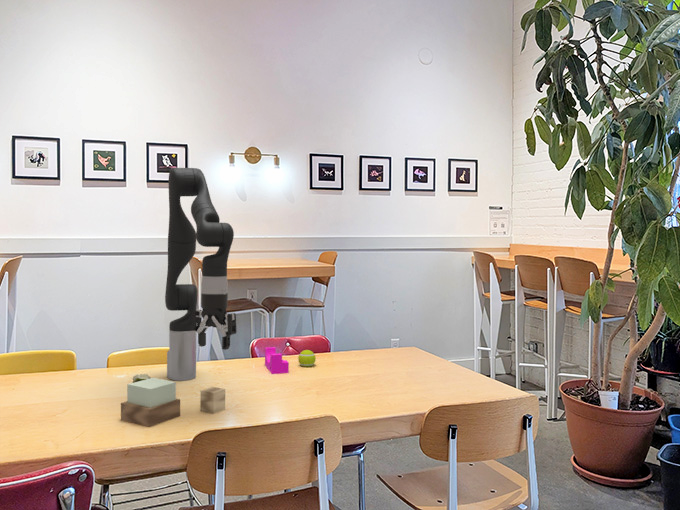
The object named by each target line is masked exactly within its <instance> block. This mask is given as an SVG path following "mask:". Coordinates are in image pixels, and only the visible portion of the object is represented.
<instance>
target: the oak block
mask: <svg viewBox="0 0 680 510" xmlns="http://www.w3.org/2000/svg"><path fill="white" fill-rule="evenodd" d="M199 393H200V394H199V395H200V397H199V399H200V401H199V403H200V405H199V406H200V408H199V410H200V412H203V413H209V414H212V415H215V414H217V413H219V412H221V411H224V410H226V388H220V387H218V386H217V387H216V386H210V387H207V388H204V389H201V390H200V392H199Z"/></svg>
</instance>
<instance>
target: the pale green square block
mask: <svg viewBox="0 0 680 510" xmlns="http://www.w3.org/2000/svg"><path fill="white" fill-rule="evenodd" d="M126 391H127V395H126V397H127V398H126V399H127V400H126V401H127V403H132V404H136V405H140V406H145V407H149V408H151V407H155V406H158V405H161V404H164V403H167V402H171V401H174V400H176V399H177V396H176V395H177V382H176V381H174V380H166V379H162V378H157V377H151V378H150V379H146V380H142V381H138V382H135V383H133V382H132V383H131V382H130V383H128V384H127V390H126Z"/></svg>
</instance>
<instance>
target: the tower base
mask: <svg viewBox="0 0 680 510" xmlns="http://www.w3.org/2000/svg"><path fill="white" fill-rule="evenodd" d="M180 416H181V399H180V398H176V400H174V401H171V402H167V403H164V404H161V405H158V406H155V407H151V408H149V407H145V406H140V405H136V404H132V403H127V400H126V401H123V402H121V403H120V421H123V422H127V423H131V424H134V425H135V424H137V425H141V426H145V427H148V428H150V427H154V426H156V425H158V424H162V423H165V422H168V421H170V420H172V419H175V418H178V417H180Z"/></svg>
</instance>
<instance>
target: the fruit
mask: <svg viewBox="0 0 680 510" xmlns="http://www.w3.org/2000/svg"><path fill="white" fill-rule="evenodd" d="M150 378H152V377H151V376H149V374H147V373H144V374H142V373H141V374H135V375H134V376H133V377H132V383H135V382H138V381H142V380H146V379H150Z"/></svg>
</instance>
